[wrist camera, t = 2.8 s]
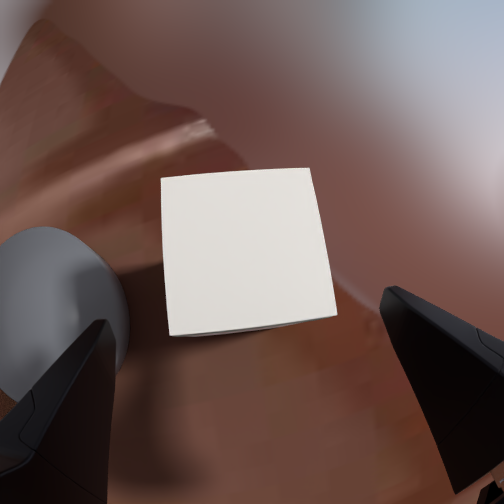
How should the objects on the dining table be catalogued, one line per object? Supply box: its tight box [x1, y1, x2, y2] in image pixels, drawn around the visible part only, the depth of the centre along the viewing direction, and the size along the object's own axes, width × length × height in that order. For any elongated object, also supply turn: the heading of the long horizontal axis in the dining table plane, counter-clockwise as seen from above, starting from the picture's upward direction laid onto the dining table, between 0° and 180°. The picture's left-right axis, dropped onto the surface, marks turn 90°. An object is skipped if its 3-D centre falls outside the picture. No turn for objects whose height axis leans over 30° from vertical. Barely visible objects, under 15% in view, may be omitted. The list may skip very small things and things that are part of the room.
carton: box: [161, 168, 337, 337], centre depth 14 cm, size 5×5×10 cm
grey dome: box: [0, 227, 130, 402], centre depth 16 cm, size 11×11×3 cm
